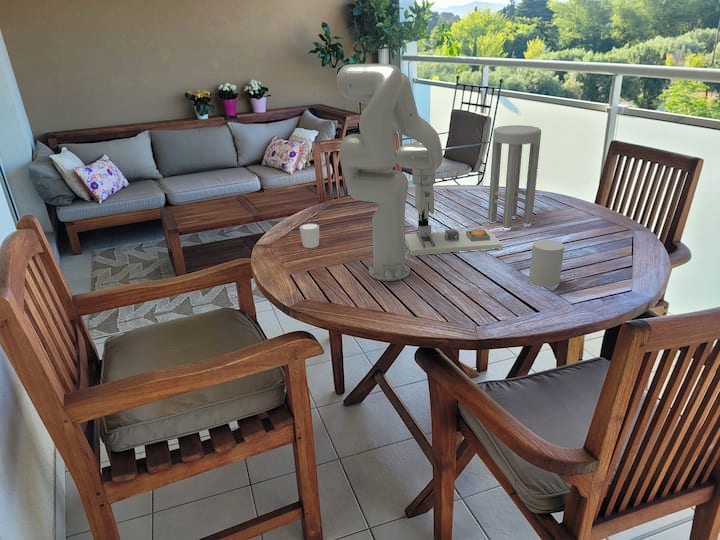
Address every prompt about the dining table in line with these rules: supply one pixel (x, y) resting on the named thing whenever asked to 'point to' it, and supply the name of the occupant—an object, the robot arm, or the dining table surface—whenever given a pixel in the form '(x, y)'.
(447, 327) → the dining table surface
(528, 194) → the stool
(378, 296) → the dining table surface
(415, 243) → the switch panel
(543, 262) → the cup
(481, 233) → the push button
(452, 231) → the rocker switch
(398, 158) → the robot arm
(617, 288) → the dining table surface
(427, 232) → the grey slider handle
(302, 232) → the shot glass
